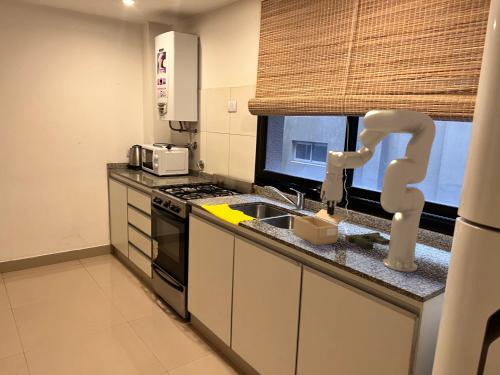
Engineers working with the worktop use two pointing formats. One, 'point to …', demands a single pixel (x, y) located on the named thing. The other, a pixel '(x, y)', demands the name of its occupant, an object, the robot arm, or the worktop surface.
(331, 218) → the back flap
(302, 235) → the carton
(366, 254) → the worktop surface
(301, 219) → the front flap
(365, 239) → the firearm
